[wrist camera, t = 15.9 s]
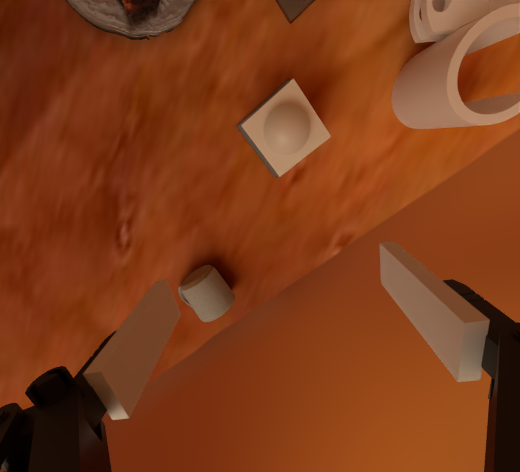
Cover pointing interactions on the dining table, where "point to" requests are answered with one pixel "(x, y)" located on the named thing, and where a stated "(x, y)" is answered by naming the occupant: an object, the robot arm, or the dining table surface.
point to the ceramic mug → (206, 293)
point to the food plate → (133, 15)
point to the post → (293, 8)
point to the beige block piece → (286, 128)
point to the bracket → (452, 63)
